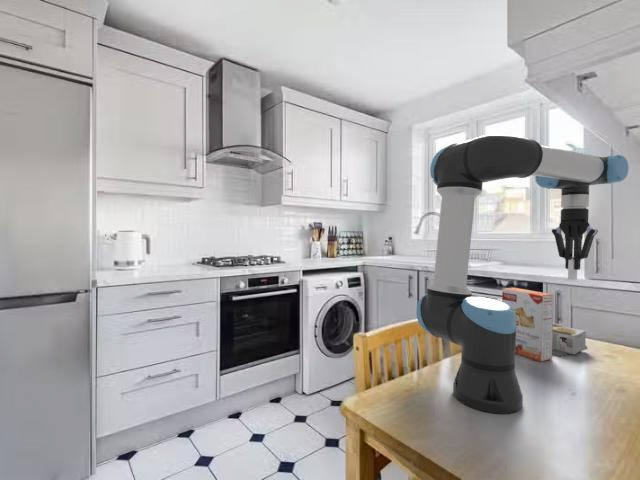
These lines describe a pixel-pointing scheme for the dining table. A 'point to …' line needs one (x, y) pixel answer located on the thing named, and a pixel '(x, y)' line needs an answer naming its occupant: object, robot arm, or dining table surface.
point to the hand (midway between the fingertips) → (572, 279)
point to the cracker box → (532, 322)
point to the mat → (559, 353)
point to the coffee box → (568, 339)
